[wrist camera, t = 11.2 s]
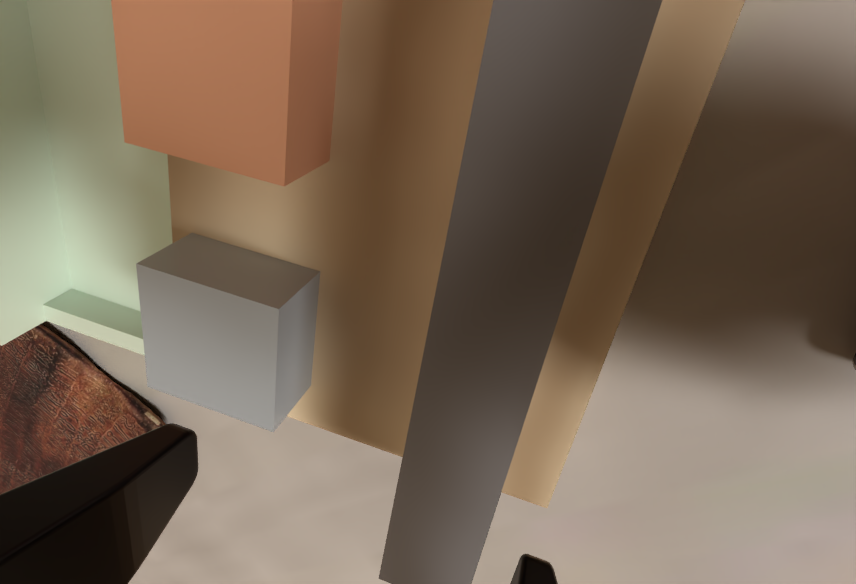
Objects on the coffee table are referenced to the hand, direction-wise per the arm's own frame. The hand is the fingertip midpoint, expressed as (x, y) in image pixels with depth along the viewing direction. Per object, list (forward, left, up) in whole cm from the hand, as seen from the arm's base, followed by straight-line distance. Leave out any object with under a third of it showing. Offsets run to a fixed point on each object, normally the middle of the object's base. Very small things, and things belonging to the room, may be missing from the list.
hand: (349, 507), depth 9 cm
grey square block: (+7, +4, -9) cm, 12 cm away
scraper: (-1, 0, -9) cm, 9 cm away
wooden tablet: (+17, +26, -12) cm, 33 cm away
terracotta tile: (+7, -4, -9) cm, 12 cm away
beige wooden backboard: (+3, 0, -12) cm, 12 cm away
